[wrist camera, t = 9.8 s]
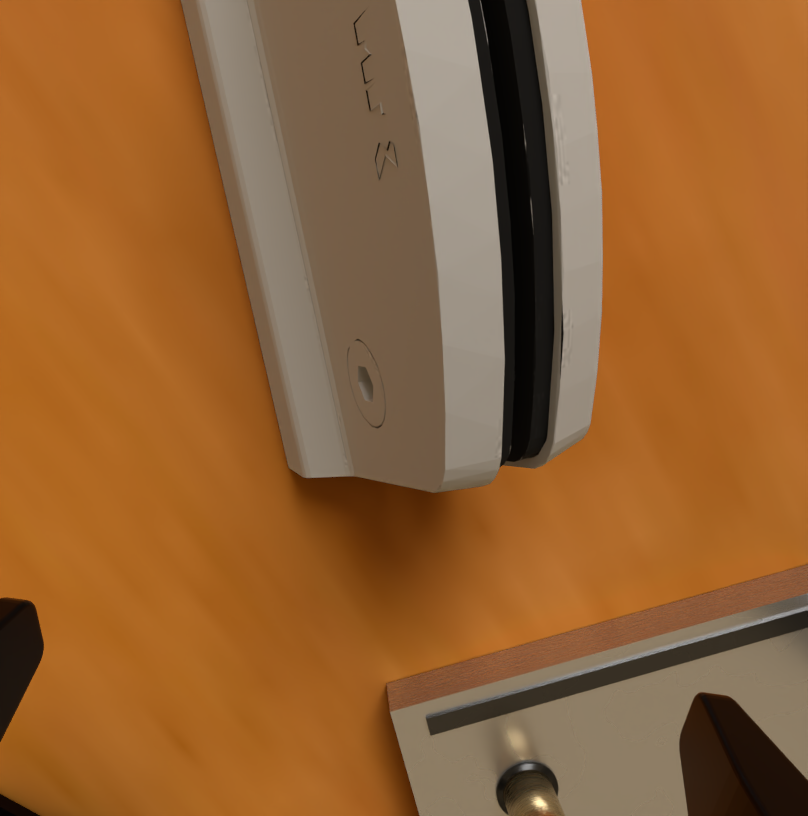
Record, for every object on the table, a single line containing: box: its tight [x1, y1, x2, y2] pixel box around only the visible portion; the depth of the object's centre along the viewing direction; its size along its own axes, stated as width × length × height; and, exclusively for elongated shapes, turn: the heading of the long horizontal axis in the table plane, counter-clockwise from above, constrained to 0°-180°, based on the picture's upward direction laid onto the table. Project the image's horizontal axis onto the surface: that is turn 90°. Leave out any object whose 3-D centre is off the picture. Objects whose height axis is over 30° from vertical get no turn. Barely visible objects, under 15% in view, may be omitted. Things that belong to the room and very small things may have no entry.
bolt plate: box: [387, 565, 808, 816], centre depth 22 cm, size 21×8×4 cm, turn 104°
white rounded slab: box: [181, 0, 603, 493], centre depth 16 cm, size 17×5×10 cm, turn 11°
